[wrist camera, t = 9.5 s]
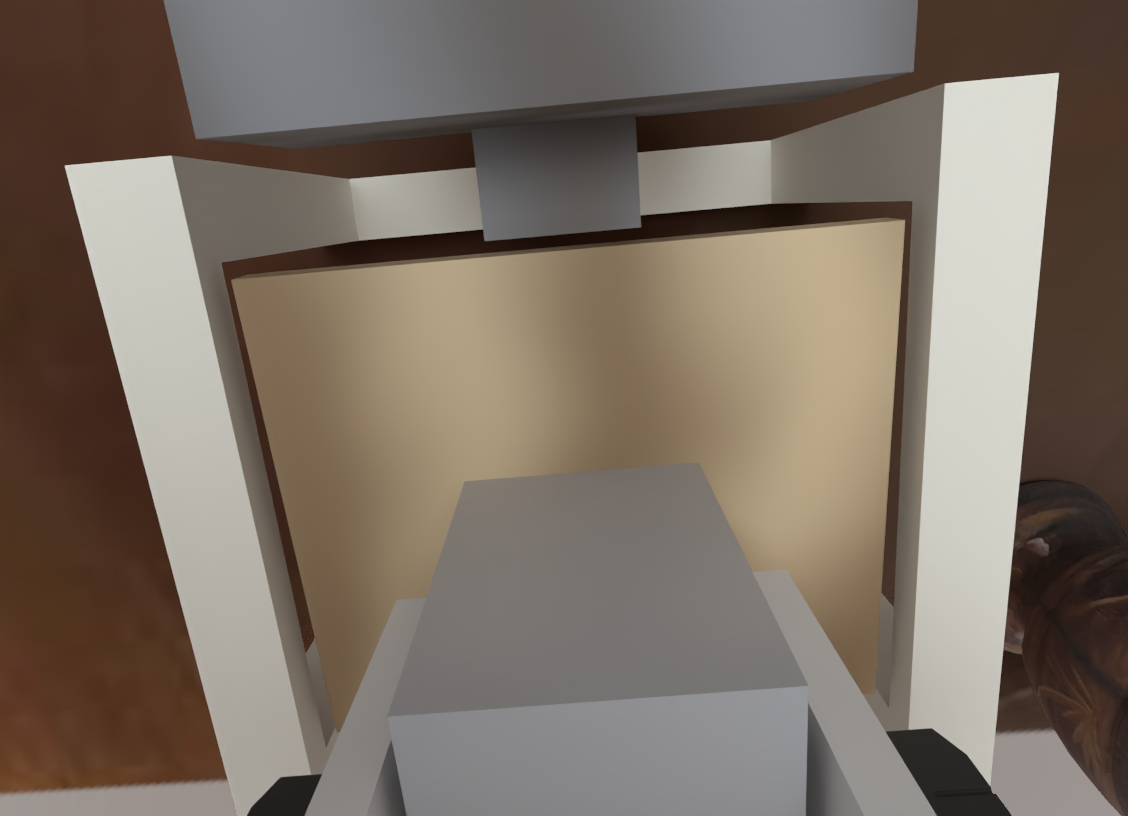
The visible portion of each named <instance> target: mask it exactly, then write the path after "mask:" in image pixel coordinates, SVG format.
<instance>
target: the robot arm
mask: <svg viewBox="0 0 1128 816" xmlns="http://www.w3.org/2000/svg"><path fill="white" fill-rule="evenodd" d="M753 574H754V576H755V578H756V580H757V582H758V584H759V586H760V588H761V590H762V592H763V594H764V596H765V598H766V600H767V602H768V604H769V606H770V609H771V611H772V613H773V615H774V617H775V619H776V621H777V623H778V625H779V627H780V629H781V631H782V633H783V635H784V637H785V639H786V641H787V643H788V645H789V647H790V649H791V651H792V653H793V655H794V657H795V659H796V661H797V663H798V665H799V668H800V670H801V672H802V674H803V676H804V678H805V680H806V682H807V684H808V686H809V688H808V734H807V780H806V816H1011V814H1010V813H1009V811H1008V810H1007V808H1006V807H1005V806H1004V804H1003V803H1002V802H1001V800H1000V799H999V798H998V796H997V795H996V794H993V793H992V791H991V787H990V785H989V784H988V783H987V781H986V780H985V779H984V777H983V776H982V774H981V773H980V772H979V770H978V769H977V768H976V766H975V765H974V764H973V762H972V761H971V760H970V758H969V757H968V755H967V754H965V753H964V752H963V751H961V750H960V749H959V748H957V747H956V746H955V745H953V744H952V743H951V742H949V741H948V740H947V739H946V738H944V737H943V736H942V735H940V734H939V733H938V732H936V731H935V730H934V729H932V728H928V729H914V730H900V731H886V732H885V730H884V728H883V727H882V725H881V724H880V722H879V720H878V719H877V717H876V715H875V714H874V712H873V711H872V709H871V707H870V706H869V704H868V702H867V701H866V699H865V697H864V696H863V694H862V693H861V691H860V689H859V688H858V686H857V684H856V683H855V681H854V679H853V678H852V676H851V675H850V673H849V671H848V670H847V668H846V666H845V665H844V663H843V661H842V660H841V658H840V657H839V655H838V653H837V652H836V650H835V648H834V647H833V645H832V644H831V642H830V640H829V639H828V637H827V635H826V634H825V632H824V630H823V629H822V627H821V626H820V624H819V622H818V621H817V619H816V617H815V616H814V614H813V612H812V611H811V609H810V608H809V606H808V604H807V603H806V601H805V599H804V598H803V596H802V594H801V593H800V591H799V590H798V588H797V586H796V585H795V583H794V581H793V580H792V578H791V577H790V575H789V573H788V572H787V570H773V571H760V572H753ZM425 600H426V597H423V598H410V599H397V600H396V602H395V605H394V607H393V609H392V612H391V614H390V617H389V619H388V621H387V624H386V626H385V628H384V631H383V633H382V635H381V638H380V640H379V642H378V645H377V647H376V649H375V652H374V654H373V656H372V659H371V661H370V663H369V666H368V668H367V670H366V673H365V675H364V677H363V680H362V682H361V684H360V687H359V689H358V692H357V694H356V696H355V699H354V701H353V703H352V706H351V708H350V710H349V713H348V715H347V717H346V720H345V722H344V724H343V727H342V729H341V731H340V734H339V736H338V738H337V741H336V743H335V745H334V748H333V750H332V752H331V755H330V757H329V759H328V762H327V764H326V767H325V769H324V771H323V774H316V775H302V776H288V777H280V778H279V779H278V780H277V781H276V782H275V783H274V784H273V785H272V786H271V787H270V789H269V790H268V791H267V792H266V793H265V794H264V795H263V796H262V797H261V798H260V799H259V800H258V801H257V802H256V803H255V804H254V805H253V806H252V807H251V809H250V811H249V813H248V814H247V816H407V815H406V810H405V805H404V800H403V795H402V790H401V785H400V780H399V774H398V769H397V764H396V759H395V754H394V749H393V744H392V739H391V734H390V729H389V724H388V719H387V716H388V713H389V709H390V706H391V703H392V700H393V697H394V694H395V691H396V688H397V685H398V682H399V679H400V676H401V673H402V670H403V667H404V664H405V661H406V658H407V655H408V652H409V649H410V646H411V643H412V640H413V637H414V634H415V631H416V628H417V624H418V621H419V618H420V615H421V612H422V609H423V606H424V603H425Z"/></svg>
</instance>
